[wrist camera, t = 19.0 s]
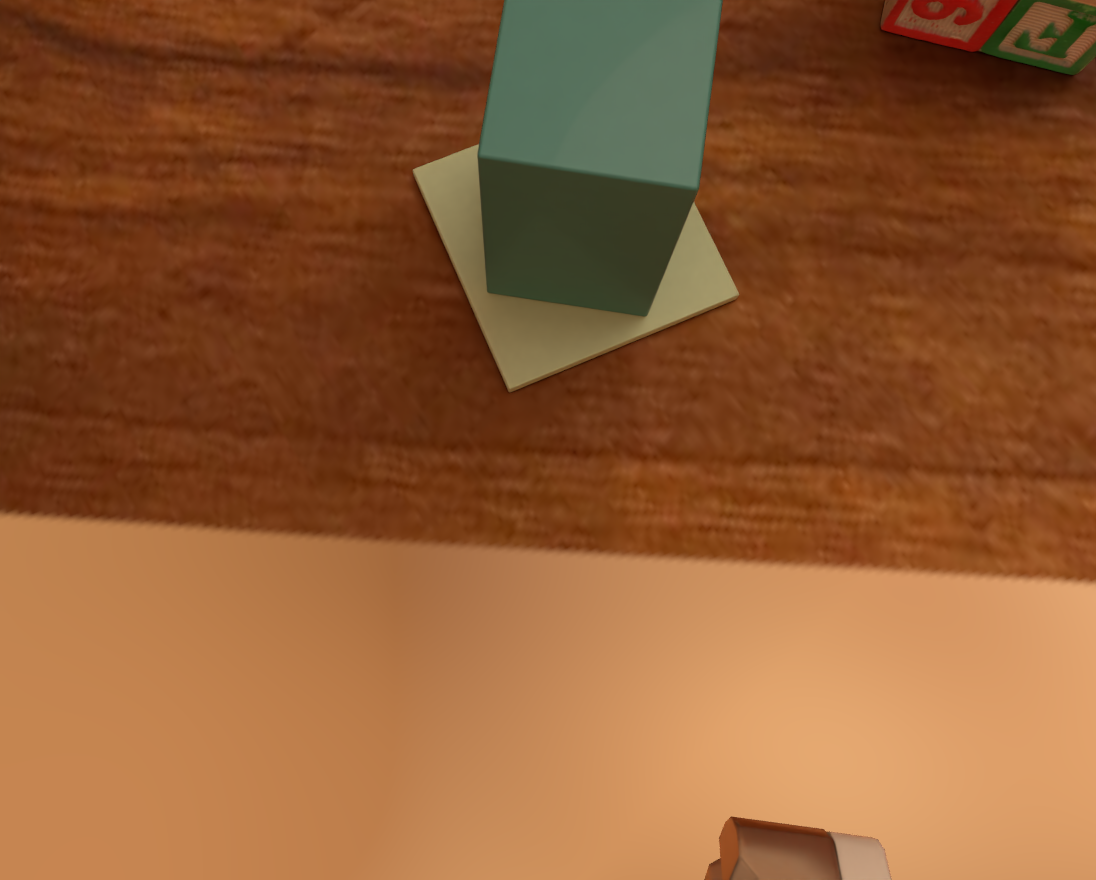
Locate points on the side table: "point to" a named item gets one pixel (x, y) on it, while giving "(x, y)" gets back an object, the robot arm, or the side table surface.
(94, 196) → the side table surface
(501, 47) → the teal block
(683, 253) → the sage mat
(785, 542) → the side table surface
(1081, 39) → the stack of blocks
